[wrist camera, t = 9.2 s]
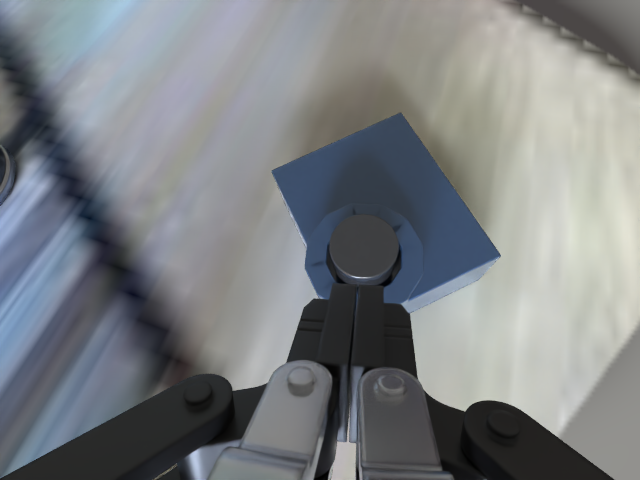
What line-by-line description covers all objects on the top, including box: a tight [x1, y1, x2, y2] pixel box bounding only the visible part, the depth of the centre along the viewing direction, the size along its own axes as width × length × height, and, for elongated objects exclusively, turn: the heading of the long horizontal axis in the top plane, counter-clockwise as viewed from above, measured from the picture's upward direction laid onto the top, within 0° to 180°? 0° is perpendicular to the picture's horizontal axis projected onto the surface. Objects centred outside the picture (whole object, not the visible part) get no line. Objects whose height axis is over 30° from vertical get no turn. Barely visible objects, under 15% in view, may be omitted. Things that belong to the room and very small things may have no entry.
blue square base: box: [272, 113, 501, 314], centre depth 27 cm, size 12×11×7 cm
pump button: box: [329, 214, 399, 288], centre depth 22 cm, size 4×4×2 cm
